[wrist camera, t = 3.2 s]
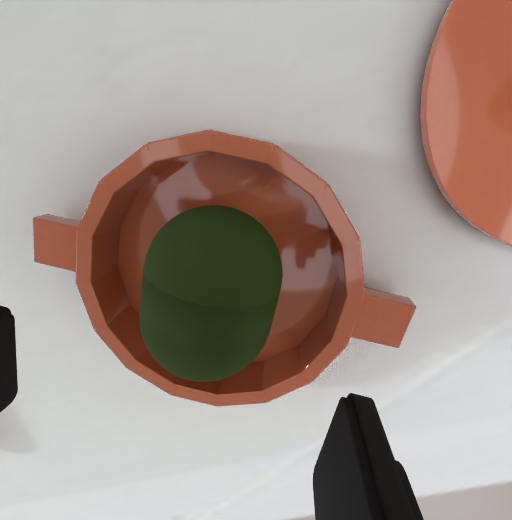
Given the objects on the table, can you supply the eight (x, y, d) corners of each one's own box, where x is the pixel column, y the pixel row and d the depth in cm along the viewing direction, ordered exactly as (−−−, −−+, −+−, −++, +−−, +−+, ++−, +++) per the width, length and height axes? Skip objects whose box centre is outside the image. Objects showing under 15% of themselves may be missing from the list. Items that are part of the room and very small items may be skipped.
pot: (64, 100, 15) (14, 86, 12) (441, 183, 15) (478, 189, 12) (64, 331, 20) (26, 360, 17) (354, 401, 19) (366, 443, 16)
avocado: (180, 185, 15) (118, 200, 10) (295, 211, 15) (301, 241, 10) (163, 321, 18) (106, 394, 12) (262, 344, 18) (250, 430, 12)
